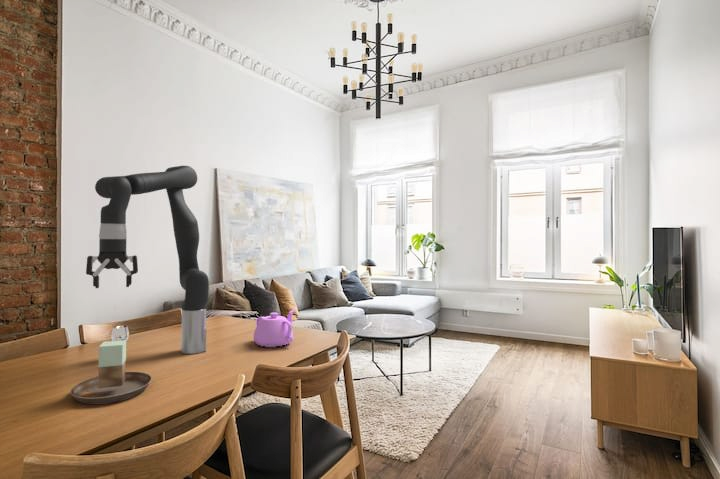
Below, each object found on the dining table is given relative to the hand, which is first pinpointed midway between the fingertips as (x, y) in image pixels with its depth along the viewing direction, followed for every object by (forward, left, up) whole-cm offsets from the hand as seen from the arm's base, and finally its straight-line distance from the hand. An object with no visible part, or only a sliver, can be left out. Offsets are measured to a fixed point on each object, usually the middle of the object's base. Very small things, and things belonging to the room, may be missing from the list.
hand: (112, 287), depth 130 cm
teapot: (-60, -24, -30) cm, 72 cm away
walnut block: (-2, +13, -27) cm, 30 cm away
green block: (-2, +13, -21) cm, 25 cm away
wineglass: (0, -24, -30) cm, 39 cm away
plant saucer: (-2, +13, -31) cm, 33 cm away
